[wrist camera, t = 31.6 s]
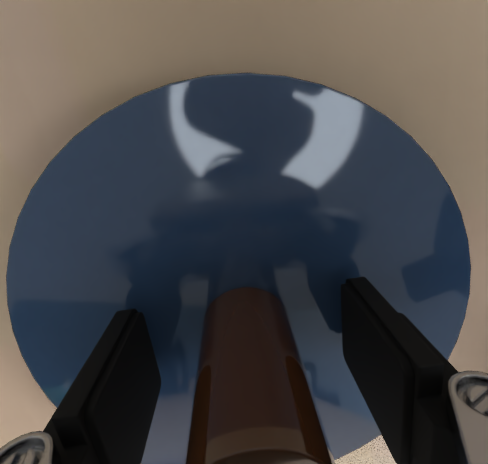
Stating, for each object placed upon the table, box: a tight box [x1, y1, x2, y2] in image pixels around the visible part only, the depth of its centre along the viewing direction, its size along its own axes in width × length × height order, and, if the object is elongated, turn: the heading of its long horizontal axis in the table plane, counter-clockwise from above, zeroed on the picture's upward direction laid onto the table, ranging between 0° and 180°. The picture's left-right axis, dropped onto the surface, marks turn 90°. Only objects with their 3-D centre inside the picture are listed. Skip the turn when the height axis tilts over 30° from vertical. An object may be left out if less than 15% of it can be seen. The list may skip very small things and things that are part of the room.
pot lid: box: [6, 73, 471, 464], centre depth 9 cm, size 16×16×7 cm
